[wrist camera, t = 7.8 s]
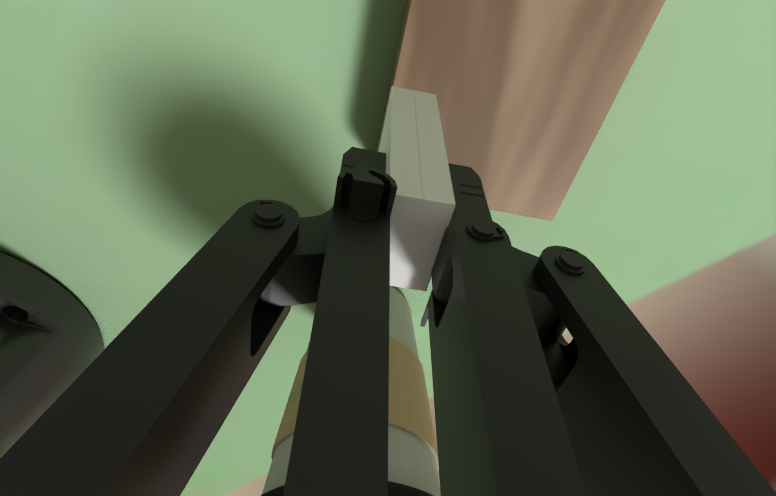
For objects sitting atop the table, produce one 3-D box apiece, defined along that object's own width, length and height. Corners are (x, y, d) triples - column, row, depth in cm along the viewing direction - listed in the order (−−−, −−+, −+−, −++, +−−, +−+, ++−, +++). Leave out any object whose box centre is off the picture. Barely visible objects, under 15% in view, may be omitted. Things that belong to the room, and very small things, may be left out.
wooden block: (372, 188, 22) (552, 220, 23) (423, -59, 16) (665, 0, 17) (374, 157, 25) (538, 188, 26) (420, -69, 19) (633, -17, 20)
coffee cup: (354, 232, 27) (323, 509, 16) (468, 308, 31) (513, 578, 19) (266, 317, 32) (191, 581, 20) (375, 375, 36) (366, 625, 24)
